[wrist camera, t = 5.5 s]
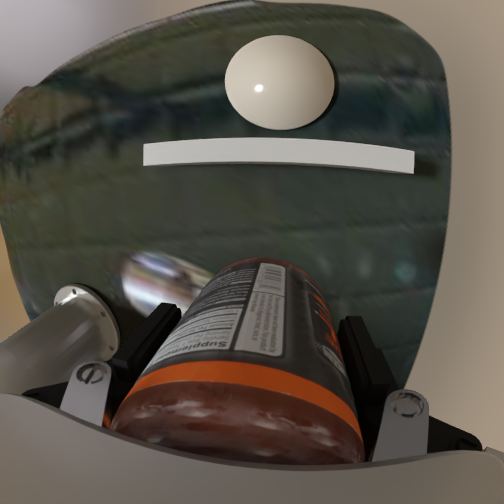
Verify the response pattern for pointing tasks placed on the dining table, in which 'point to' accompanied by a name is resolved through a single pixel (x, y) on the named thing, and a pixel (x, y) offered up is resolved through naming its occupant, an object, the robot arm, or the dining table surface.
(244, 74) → the resting pad
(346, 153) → the low wall
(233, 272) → the supplement bottle
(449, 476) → the robot arm
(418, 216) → the dining table surface
